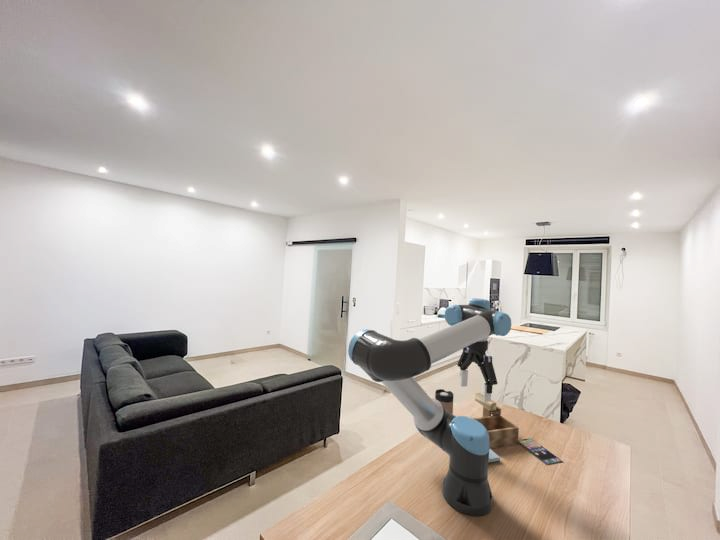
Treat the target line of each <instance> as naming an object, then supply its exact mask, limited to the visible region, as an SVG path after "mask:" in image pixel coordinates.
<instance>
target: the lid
mask: <svg viewBox="0 0 720 540" xmlns="http://www.w3.org/2000/svg"><path fill="white" fill-rule="evenodd" d="M497 461H498V462H499V461H501V457H500V456H499V455H498V454H497V453H496V452H494V450H492V449H490V450H489V461H488V463H493V462H497Z"/></svg>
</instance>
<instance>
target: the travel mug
mask: <svg viewBox="0 0 720 540" xmlns="http://www.w3.org/2000/svg"><path fill="white" fill-rule="evenodd" d="M434 399H436V400H438V401H439V402H440V403H441V404H442V405H443V406H444V408H445V409H446V410H447V411H448V412H449V413H451V414H453V415H454V393H453V392H452V391H450V390H447V391H446V390H445V389H443V388H442V389H441V388H439V389H436V390H435V393H434Z"/></svg>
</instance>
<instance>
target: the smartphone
mask: <svg viewBox="0 0 720 540" xmlns="http://www.w3.org/2000/svg"><path fill="white" fill-rule="evenodd" d="M517 445H520V447H522V449H525V450H526V451H528V452H529V453H530V454H531V455H532V456H534V457H535V458H536V459H538V460H539V461H540V462H542V463H543V464H544V465H546V466H548V465H554V464H560V463H564V461H563V460H562V459H560V458H559V457H558V456H556V455H555V454H554V453H552V452H551V451H550V450H548V449H547V448H545V447H544V446H542V445H541V444H540V443H538V442H537V441H536V440H534V439H533V438H531V437H529V438H524V439H518V444H517Z"/></svg>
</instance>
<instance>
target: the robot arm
mask: <svg viewBox="0 0 720 540" xmlns="http://www.w3.org/2000/svg"><path fill="white" fill-rule="evenodd" d="M444 319H445V322H446V323H447V324H448V325H449V326H448V327H445V328H443V329H441V330H438V331H436V332H433V333H431V334H429V335H426V336H424V337H422V338H417V337H411V338H410V339H407V340H406V339H405V340H398V339H394V338H391V337H389V336H387V335H384V334H381V333H379V332H377V331H376V330H373V329H362V330H361V329H360V330H358V332H356V333H355V334H354V335H353V336H352V337H351V339H350V341H349V343H348V350H347V351H348V357H349V359H350V360H351V362H352V363H353V364H355V365H356V366H358V367H359V368H360V369H362V370H363V371H364V372H365V374H367V375H368V377H369V378H371V380H372V381H374V382H376V383H382V384H383V386H384V387H385V388H386V389H387V390H388V391H389V392H390V393H391V394H392V395H393V396H394V397H395V398H396V399H397V400H398V401H399V402H400V403H401V405H402V406H403V407H404V408H405V409H406V410H407V411H408V413H409V414H410V415H412V417H413V423H414V426H415V428H416V429H417V431H418V432H419V434H421V435H422V436H423V437H424V438H426V439H428V440H429V441H431V442H432V444H434V445H435V446H437V447H438V448H439V449H441V450H442V451H443V452H445V454H448V456H449V463H448V464H449V466H448V469H447V472H446V475H445V477H444V478H443V482H442V489H441V490H442V491H441V492H442V496H443V498H444V500H445V501H446V502H447V504H449V506H450V507H452V508H453V509H454V510H456V511H458V512H460V513H462V514H464V515H467V516H473V517H481V516H485V515H487V514H489V513H490V512H491V511H492V508H493V501H494V500H493V494H492V490H491V487H490V482H489V479H488V476H489V473H488V472H489V462H488V461H489V450H490V443H489V433H488V431H487V429H486V428H485V427H484V426H483V425H482V424H481V423H480V422H478V421H477V420H475V419H473V418H474V417H473V418H472V417H468V416H464V415H458V416H456V415H454V413H453V414H451V413H449V412H448V411H447V410H446V409H445V408H444V406H443V405H442V404H441V403H440V402H439V401H438V400H436V399H435V398H432V397H430V396H429V394H428V393H427V392H426V391H425V390H424V388H423V387H422V386H421V385H420V384H419V383H418V382H417V381H416V379H415V378H414V377H417V376H419V375H421V374H423V373H425V372H428V371H429V370H430V369H431V368H432V365H433V364H435V363H437V362H438V361H441V360H443V359H445V358H447V357H448V356H452V355H453V354H455V353H457V352H459V351H461V350H462V353H461V355H460V356H459V359H458V362H457V367H459V369H460V387H461V388H462V387H463V388H465V387H468V377H469V376H468V375H469V370H468V368H469V367H470V365H471V364H472V363H475V364H476V365H477V367H478V368H479V369H480V372H481V375H482V377H483V378H484V379H483V380H484V381H485V383H483V401H484V402H488V401H491V400H492V393H493V385H494V386H496V385H498V380H497V376H496V372H495V367H494V365H493V356H492V355H487V353H486V352H487V351H488V349H489V341H488V340H489V337H490V336H493V335H495V336H501V337H505V336H507V335H508V334H509V333H510V331H511V329H512V319H511V317H510V315H509V314H507V313H506V312H503V311H499V310H493V309H492V310H491V302H490V301H489V300H488V299H485V298H475V297H474V298H470V299H469V303H468V304H454V305H449V306H447V307H446V308H445V310H444Z"/></svg>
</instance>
